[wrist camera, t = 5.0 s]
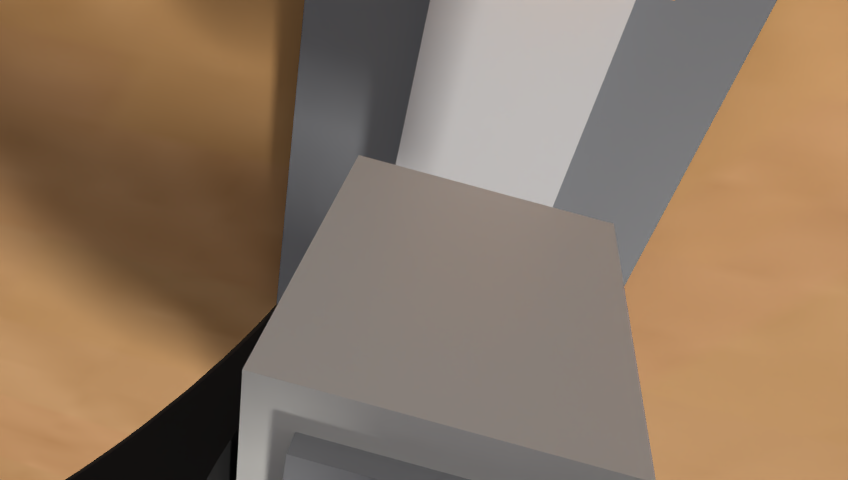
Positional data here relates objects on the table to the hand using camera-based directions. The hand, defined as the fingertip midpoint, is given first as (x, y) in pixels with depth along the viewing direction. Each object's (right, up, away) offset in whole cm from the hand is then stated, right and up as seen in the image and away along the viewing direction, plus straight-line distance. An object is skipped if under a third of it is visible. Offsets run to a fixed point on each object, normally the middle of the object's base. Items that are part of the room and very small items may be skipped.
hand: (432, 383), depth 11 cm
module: (0, +1, +1) cm, 2 cm away
